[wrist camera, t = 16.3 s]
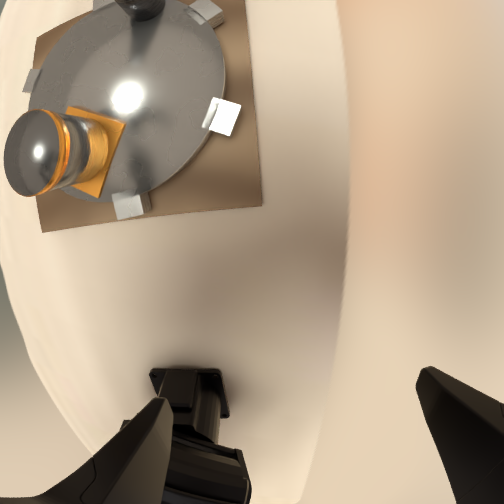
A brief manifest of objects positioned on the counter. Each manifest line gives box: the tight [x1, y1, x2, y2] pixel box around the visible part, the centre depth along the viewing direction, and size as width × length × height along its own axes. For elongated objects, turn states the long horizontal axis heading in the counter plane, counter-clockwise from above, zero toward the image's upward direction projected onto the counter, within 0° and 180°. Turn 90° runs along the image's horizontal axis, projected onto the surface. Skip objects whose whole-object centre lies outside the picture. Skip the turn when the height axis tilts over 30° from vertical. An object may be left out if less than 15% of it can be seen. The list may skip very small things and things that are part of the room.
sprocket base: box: [33, 0, 262, 233], centre depth 15 cm, size 17×17×1 cm
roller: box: [4, 109, 108, 197], centre depth 11 cm, size 4×4×5 cm
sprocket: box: [22, 0, 242, 220], centre depth 12 cm, size 16×15×6 cm
